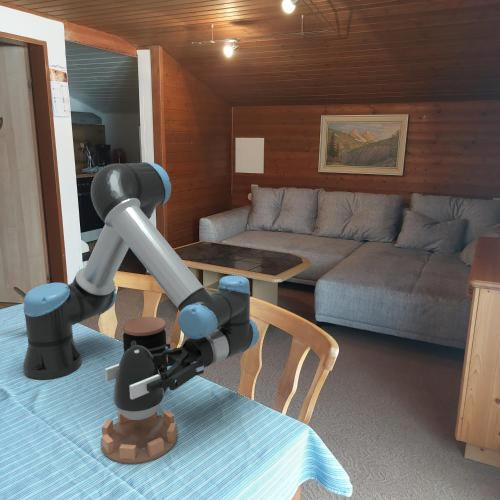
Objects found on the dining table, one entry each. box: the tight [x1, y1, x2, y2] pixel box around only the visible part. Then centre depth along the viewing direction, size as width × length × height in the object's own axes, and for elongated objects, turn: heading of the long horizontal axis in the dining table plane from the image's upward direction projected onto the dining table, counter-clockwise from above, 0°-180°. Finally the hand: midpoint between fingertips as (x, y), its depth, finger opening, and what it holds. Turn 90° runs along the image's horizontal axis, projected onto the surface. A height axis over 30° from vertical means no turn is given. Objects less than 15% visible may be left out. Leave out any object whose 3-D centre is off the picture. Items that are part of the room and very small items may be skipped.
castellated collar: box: [100, 409, 179, 465], centre depth 98 cm, size 16×16×3 cm
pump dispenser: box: [113, 341, 165, 420], centre depth 95 cm, size 10×10×15 cm
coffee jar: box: [122, 316, 168, 391], centre depth 116 cm, size 11×11×18 cm
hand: (118, 383), depth 91 cm, fingers closed on pump dispenser, 9 cm apart
